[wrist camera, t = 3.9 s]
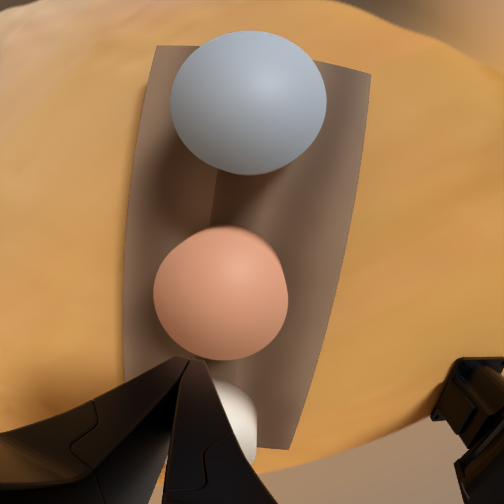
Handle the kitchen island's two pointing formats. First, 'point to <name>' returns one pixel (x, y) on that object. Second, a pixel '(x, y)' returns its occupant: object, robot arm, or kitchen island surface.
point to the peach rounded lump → (222, 293)
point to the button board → (256, 219)
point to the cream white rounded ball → (239, 416)
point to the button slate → (248, 102)
